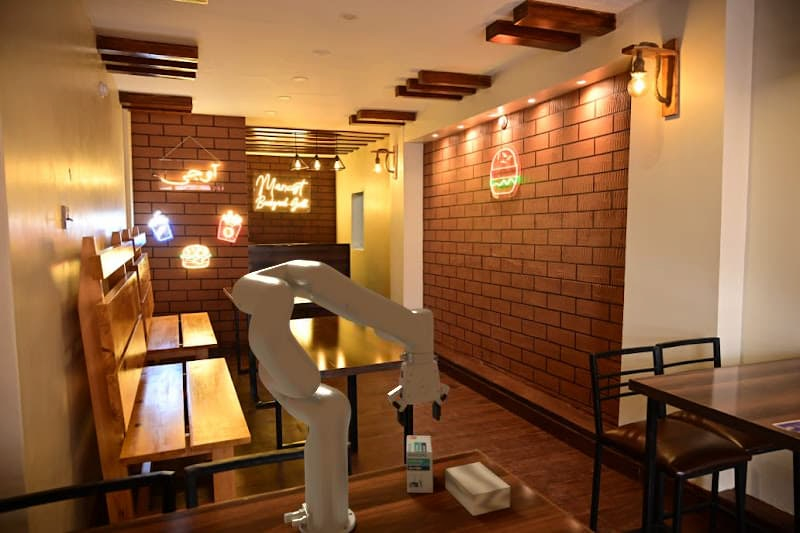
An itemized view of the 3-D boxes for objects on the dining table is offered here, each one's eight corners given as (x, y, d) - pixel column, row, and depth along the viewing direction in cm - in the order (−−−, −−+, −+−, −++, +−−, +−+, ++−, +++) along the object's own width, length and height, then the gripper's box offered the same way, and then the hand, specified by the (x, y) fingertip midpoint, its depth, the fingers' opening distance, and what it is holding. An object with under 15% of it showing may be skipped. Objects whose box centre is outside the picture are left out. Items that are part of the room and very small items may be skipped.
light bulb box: (433, 493, 131) (433, 452, 130) (406, 493, 131) (406, 452, 130) (431, 473, 142) (431, 434, 141) (406, 473, 142) (406, 434, 141)
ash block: (473, 515, 121) (473, 495, 120) (445, 487, 134) (445, 468, 133) (509, 506, 124) (510, 486, 124) (479, 480, 137) (479, 461, 137)
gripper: (393, 364, 127) (393, 432, 128) (455, 356, 133) (455, 421, 135) (382, 357, 134) (383, 422, 135) (442, 350, 140) (442, 412, 142)
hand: (419, 421), depth 135 cm, fingers open, 9 cm apart
